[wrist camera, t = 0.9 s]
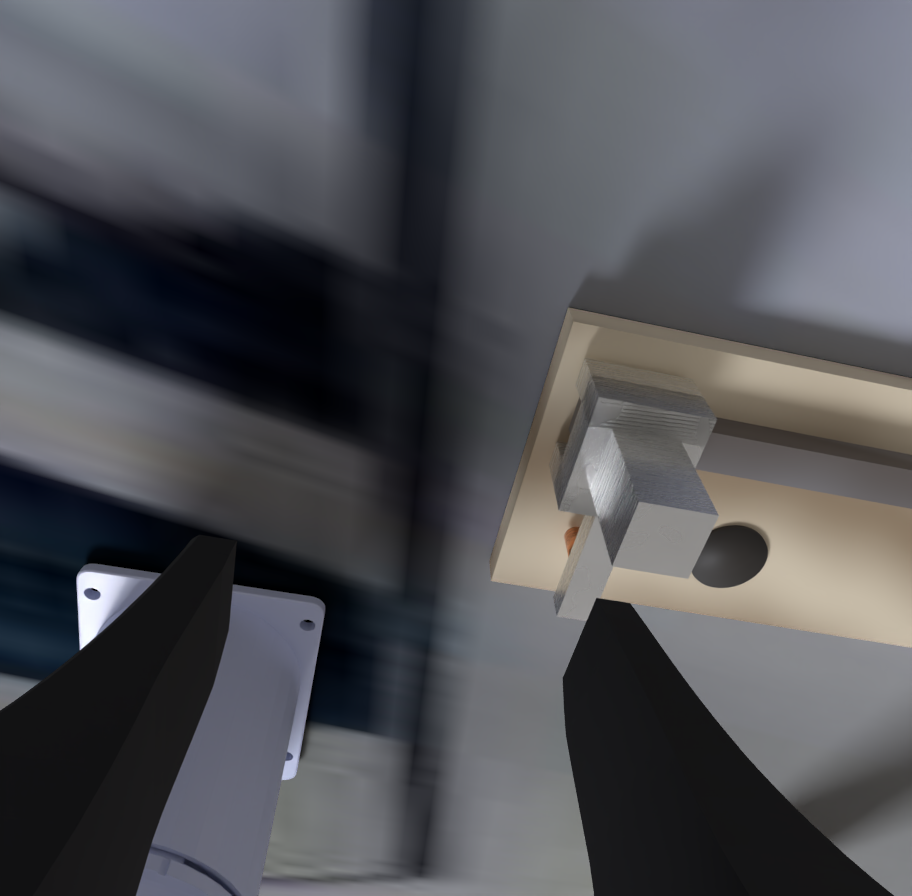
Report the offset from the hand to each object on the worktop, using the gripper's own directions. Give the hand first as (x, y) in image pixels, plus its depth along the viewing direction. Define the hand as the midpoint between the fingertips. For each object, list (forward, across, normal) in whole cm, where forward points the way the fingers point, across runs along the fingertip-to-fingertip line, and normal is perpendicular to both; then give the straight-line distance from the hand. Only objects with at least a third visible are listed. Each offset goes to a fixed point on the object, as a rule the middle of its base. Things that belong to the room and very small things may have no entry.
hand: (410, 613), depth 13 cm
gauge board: (+10, -14, +2) cm, 17 cm away
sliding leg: (+9, -5, +2) cm, 10 cm away
